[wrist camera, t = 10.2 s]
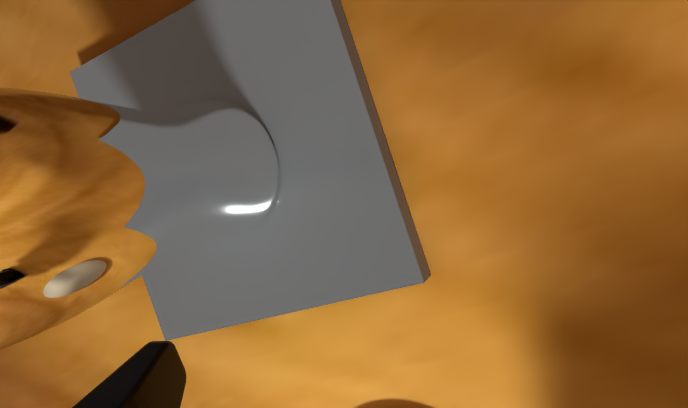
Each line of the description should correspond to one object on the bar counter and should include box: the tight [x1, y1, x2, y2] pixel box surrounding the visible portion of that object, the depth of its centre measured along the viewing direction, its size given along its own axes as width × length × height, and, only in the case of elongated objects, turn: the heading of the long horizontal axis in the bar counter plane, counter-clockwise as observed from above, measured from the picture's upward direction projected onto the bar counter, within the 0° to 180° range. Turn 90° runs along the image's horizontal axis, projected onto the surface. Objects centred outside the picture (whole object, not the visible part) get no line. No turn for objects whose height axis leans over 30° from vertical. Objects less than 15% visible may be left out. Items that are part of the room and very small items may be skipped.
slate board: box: [70, 0, 431, 341], centre depth 25 cm, size 14×14×1 cm
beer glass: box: [0, 88, 279, 350], centre depth 18 cm, size 7×7×15 cm
